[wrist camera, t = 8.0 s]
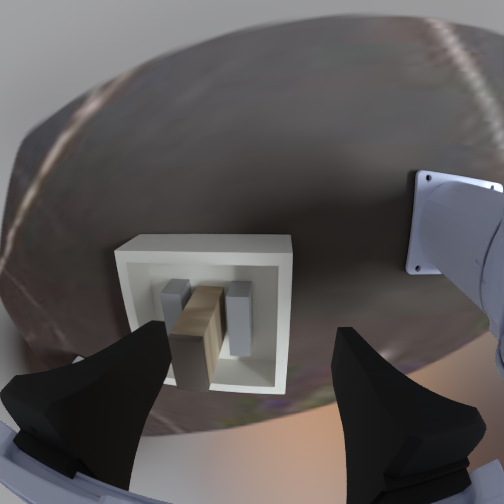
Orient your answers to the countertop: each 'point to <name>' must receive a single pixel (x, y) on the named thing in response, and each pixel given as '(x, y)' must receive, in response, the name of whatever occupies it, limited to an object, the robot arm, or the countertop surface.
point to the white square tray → (235, 294)
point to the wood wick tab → (198, 339)
